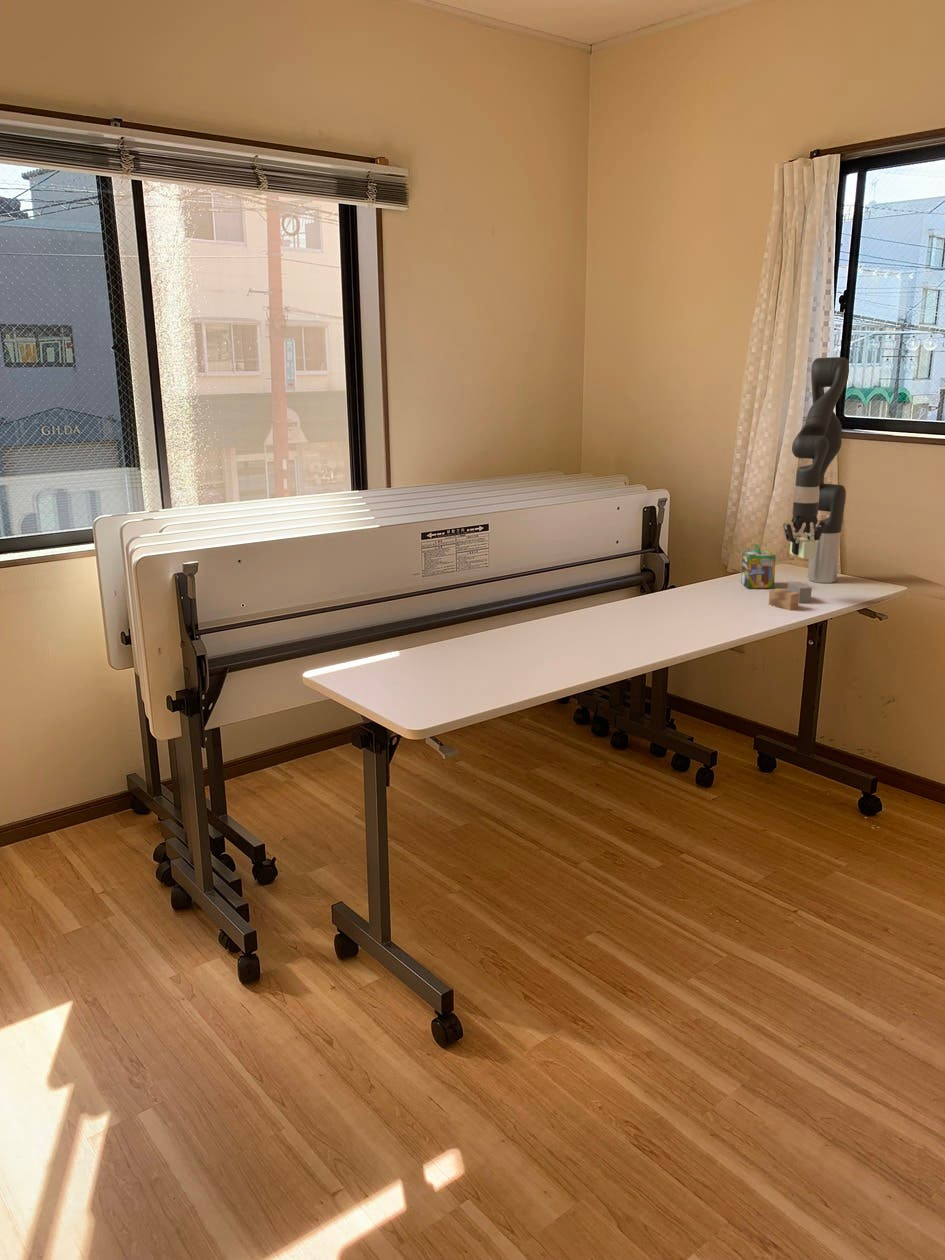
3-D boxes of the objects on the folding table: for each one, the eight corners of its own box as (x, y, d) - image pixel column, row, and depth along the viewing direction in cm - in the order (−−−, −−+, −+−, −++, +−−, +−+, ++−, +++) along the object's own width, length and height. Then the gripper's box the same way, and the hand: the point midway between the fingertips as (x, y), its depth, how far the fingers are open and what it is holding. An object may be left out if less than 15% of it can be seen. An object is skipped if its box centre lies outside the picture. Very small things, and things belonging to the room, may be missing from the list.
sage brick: (814, 557, 308) (815, 542, 307) (803, 558, 307) (804, 542, 306) (800, 552, 316) (801, 537, 314) (789, 553, 315) (790, 538, 313)
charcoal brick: (786, 597, 319) (787, 582, 318) (798, 596, 320) (799, 581, 318) (798, 603, 311) (800, 588, 310) (810, 602, 312) (811, 587, 311)
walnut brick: (768, 605, 310) (769, 590, 308) (776, 603, 312) (777, 588, 311) (790, 610, 304) (791, 595, 302) (797, 608, 306) (799, 593, 305)
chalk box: (774, 588, 330) (777, 545, 326) (747, 589, 330) (749, 546, 326) (766, 582, 339) (769, 540, 335) (740, 582, 339) (742, 540, 335)
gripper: (819, 497, 312) (815, 550, 316) (779, 499, 308) (775, 553, 313) (833, 500, 305) (828, 555, 309) (792, 503, 301) (788, 558, 306)
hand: (802, 553), depth 311 cm, fingers closed on sage brick, 4 cm apart
